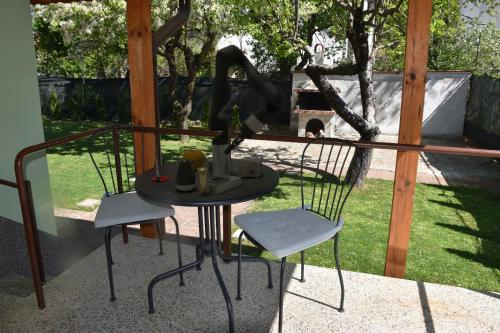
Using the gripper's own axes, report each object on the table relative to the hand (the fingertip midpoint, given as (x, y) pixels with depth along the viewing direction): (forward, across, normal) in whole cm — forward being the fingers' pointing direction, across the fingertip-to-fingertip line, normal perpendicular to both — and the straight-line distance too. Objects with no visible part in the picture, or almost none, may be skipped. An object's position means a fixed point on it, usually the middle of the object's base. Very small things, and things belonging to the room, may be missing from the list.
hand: (226, 151), depth 185 cm
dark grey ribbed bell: (+30, -7, -1) cm, 30 cm away
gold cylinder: (+22, 0, +6) cm, 23 cm away
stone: (+10, -34, +19) cm, 40 cm away
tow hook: (+43, -25, -14) cm, 51 cm away
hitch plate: (+18, -10, +10) cm, 23 cm away
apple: (+33, -47, -5) cm, 58 cm away
